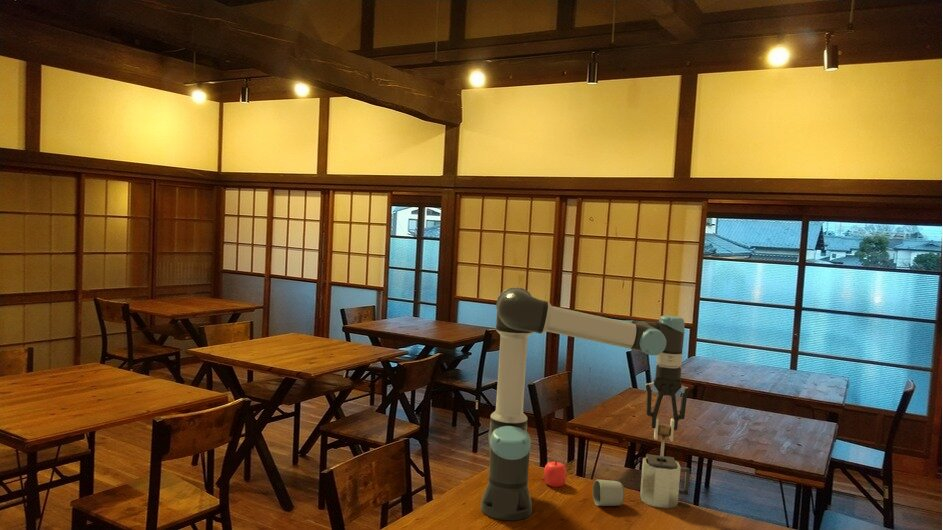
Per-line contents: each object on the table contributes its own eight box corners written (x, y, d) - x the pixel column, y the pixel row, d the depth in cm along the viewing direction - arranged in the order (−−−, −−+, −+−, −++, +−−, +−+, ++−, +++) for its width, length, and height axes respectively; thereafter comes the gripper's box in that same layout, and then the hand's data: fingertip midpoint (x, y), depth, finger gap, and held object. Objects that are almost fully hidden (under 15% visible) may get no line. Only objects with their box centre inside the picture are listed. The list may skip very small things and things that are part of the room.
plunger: (648, 482, 206) (653, 427, 205) (646, 473, 213) (650, 420, 212) (674, 485, 204) (678, 430, 203) (671, 476, 212) (675, 423, 211)
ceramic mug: (625, 509, 201) (627, 484, 201) (599, 510, 200) (601, 484, 200) (612, 495, 212) (613, 472, 211) (587, 496, 210) (589, 472, 210)
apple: (538, 480, 221) (540, 456, 220) (561, 479, 223) (562, 456, 222) (547, 489, 213) (549, 465, 213) (570, 488, 215) (572, 464, 215)
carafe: (642, 505, 205) (645, 464, 204) (639, 492, 215) (642, 452, 215) (689, 511, 202) (692, 469, 201) (684, 497, 213) (687, 457, 212)
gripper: (641, 365, 204) (636, 439, 206) (699, 370, 201) (693, 445, 203) (639, 360, 212) (634, 432, 213) (695, 365, 209) (689, 438, 210)
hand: (663, 438), depth 208 cm, fingers closed on plunger, 4 cm apart
